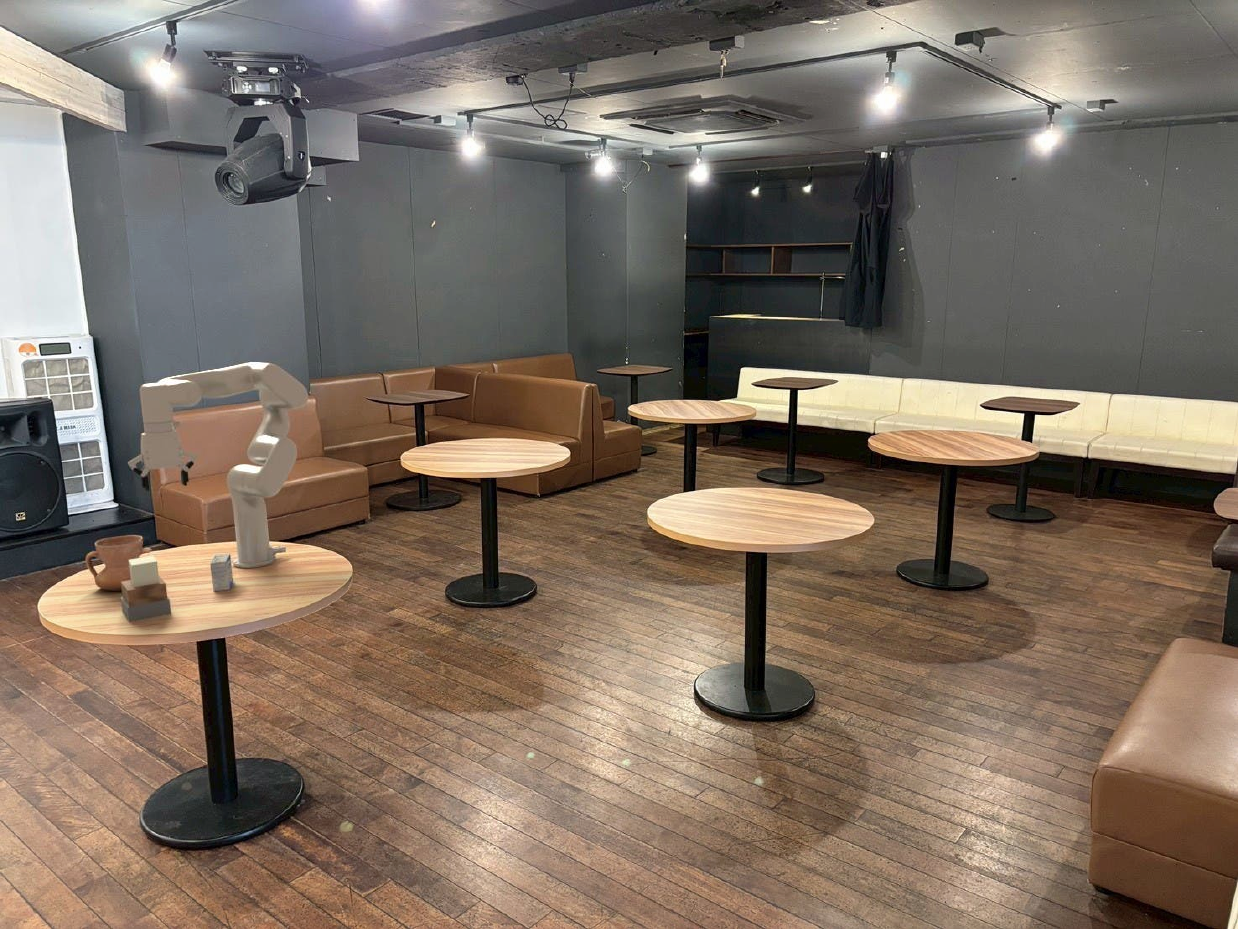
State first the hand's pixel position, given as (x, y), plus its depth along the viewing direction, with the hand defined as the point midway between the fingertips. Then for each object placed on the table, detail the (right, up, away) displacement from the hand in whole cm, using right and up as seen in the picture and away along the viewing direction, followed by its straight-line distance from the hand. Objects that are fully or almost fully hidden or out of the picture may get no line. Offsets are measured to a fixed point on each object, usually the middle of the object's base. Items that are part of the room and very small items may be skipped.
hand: (166, 487), depth 245 cm
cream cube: (+2, -25, -14) cm, 28 cm away
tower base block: (+1, -34, -12) cm, 36 cm away
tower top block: (+1, -29, -13) cm, 32 cm away
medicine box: (+12, -29, +8) cm, 33 cm away
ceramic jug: (-17, -30, +9) cm, 35 cm away
